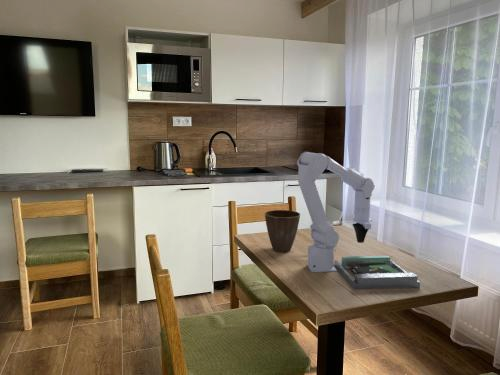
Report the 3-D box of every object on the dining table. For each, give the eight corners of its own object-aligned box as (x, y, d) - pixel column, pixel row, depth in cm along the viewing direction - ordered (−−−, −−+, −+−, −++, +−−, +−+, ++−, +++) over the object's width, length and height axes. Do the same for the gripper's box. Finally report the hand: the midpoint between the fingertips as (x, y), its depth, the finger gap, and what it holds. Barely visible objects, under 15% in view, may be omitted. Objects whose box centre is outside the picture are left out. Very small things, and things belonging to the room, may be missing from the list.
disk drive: (363, 284, 136) (403, 280, 139) (364, 276, 135) (403, 273, 138) (350, 273, 146) (387, 270, 149) (350, 265, 145) (387, 262, 148)
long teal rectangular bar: (343, 269, 147) (343, 258, 147) (341, 266, 150) (341, 256, 149) (390, 267, 149) (390, 257, 148) (387, 265, 151) (388, 255, 151)
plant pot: (261, 245, 176) (261, 210, 174) (293, 243, 179) (294, 209, 176) (269, 256, 162) (269, 218, 159) (303, 254, 164) (305, 216, 162)
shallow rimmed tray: (354, 289, 129) (355, 278, 129) (334, 265, 152) (334, 255, 151) (419, 287, 131) (420, 276, 131) (389, 263, 154) (390, 253, 153)
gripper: (379, 212, 146) (377, 247, 148) (365, 204, 160) (363, 236, 162) (361, 212, 145) (359, 248, 147) (348, 204, 159) (346, 237, 162)
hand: (360, 242), depth 155 cm, fingers closed
